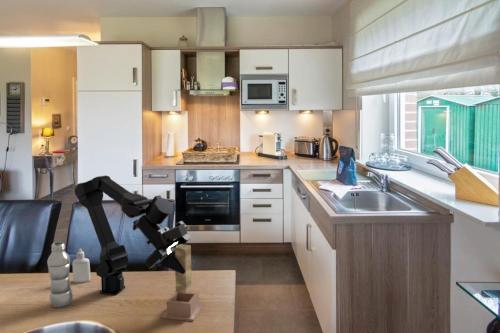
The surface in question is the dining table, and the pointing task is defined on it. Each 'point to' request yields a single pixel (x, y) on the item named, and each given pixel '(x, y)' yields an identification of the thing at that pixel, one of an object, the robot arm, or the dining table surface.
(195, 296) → the holder cup
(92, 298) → the dining table surface
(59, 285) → the plastic bottle
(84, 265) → the eye dropper bottle
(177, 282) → the wooden block
